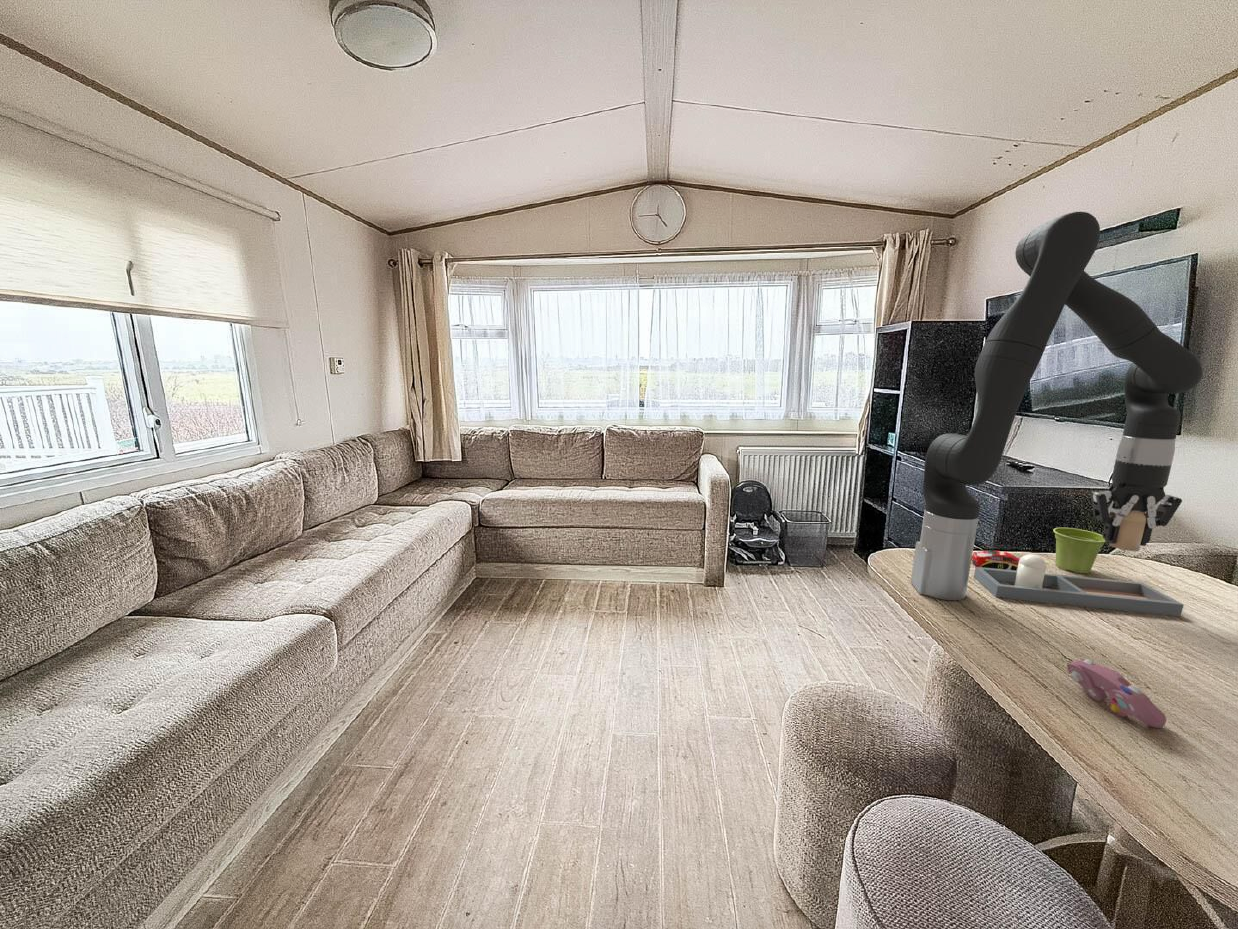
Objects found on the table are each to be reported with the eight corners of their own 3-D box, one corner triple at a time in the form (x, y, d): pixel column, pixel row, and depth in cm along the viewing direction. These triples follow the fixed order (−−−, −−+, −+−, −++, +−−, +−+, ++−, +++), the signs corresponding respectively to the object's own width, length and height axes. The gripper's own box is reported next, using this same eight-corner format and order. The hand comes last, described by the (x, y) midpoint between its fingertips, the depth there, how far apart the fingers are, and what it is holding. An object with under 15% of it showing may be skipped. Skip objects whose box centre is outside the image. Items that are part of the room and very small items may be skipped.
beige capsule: (1118, 549, 97) (1127, 510, 95) (1102, 542, 101) (1111, 504, 99) (1145, 551, 96) (1155, 511, 94) (1128, 544, 100) (1137, 505, 98)
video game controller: (1067, 693, 74) (1056, 656, 72) (1094, 680, 74) (1084, 643, 72) (1141, 743, 64) (1130, 702, 63) (1173, 727, 64) (1163, 686, 62)
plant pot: (1111, 577, 112) (1120, 541, 110) (1070, 576, 112) (1077, 540, 110) (1074, 561, 121) (1081, 527, 119) (1036, 560, 121) (1042, 527, 119)
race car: (1035, 570, 116) (1038, 554, 115) (1043, 579, 111) (1047, 562, 110) (968, 560, 121) (971, 545, 120) (974, 568, 116) (976, 552, 115)
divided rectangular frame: (995, 597, 101) (997, 585, 101) (973, 577, 111) (975, 566, 110) (1180, 616, 94) (1183, 604, 93) (1140, 593, 103) (1142, 582, 103)
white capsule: (1020, 594, 102) (1027, 557, 101) (1009, 585, 107) (1016, 550, 105) (1045, 597, 101) (1052, 560, 100) (1033, 588, 106) (1040, 552, 104)
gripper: (1113, 462, 93) (1095, 547, 96) (1206, 465, 90) (1184, 553, 93) (1086, 455, 100) (1070, 534, 104) (1172, 458, 97) (1152, 540, 100)
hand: (1124, 543), depth 98 cm, fingers closed on beige capsule, 4 cm apart
